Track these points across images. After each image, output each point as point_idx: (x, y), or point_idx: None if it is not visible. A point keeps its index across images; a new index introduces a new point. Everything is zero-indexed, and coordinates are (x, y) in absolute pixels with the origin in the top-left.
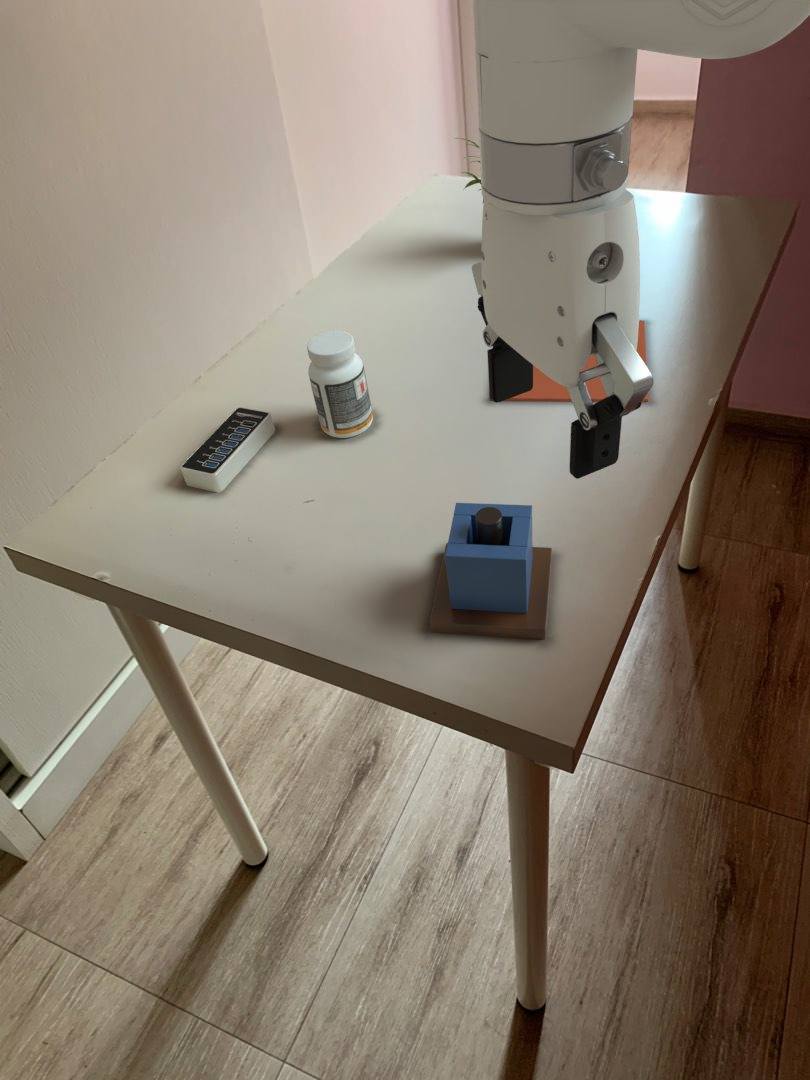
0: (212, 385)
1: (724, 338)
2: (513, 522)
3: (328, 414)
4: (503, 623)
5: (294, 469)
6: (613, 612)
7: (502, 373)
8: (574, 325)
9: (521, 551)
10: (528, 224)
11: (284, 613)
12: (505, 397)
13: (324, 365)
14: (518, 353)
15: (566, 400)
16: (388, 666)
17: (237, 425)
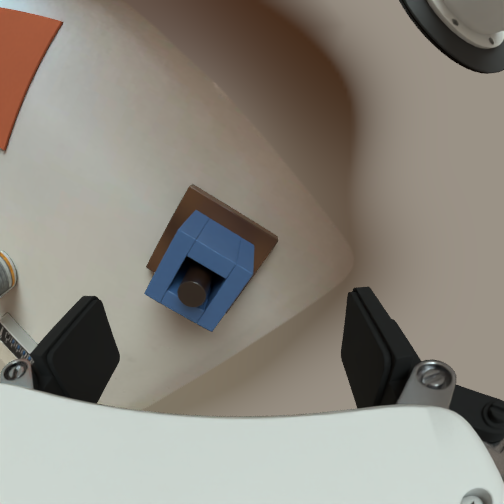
0: None
1: None
2: (195, 259)
3: (3, 294)
4: (254, 266)
5: (40, 319)
6: (278, 169)
7: (96, 382)
8: None
9: (240, 273)
10: None
11: (170, 374)
12: (114, 347)
13: None
14: (69, 375)
15: (27, 87)
16: (243, 341)
17: (9, 342)
